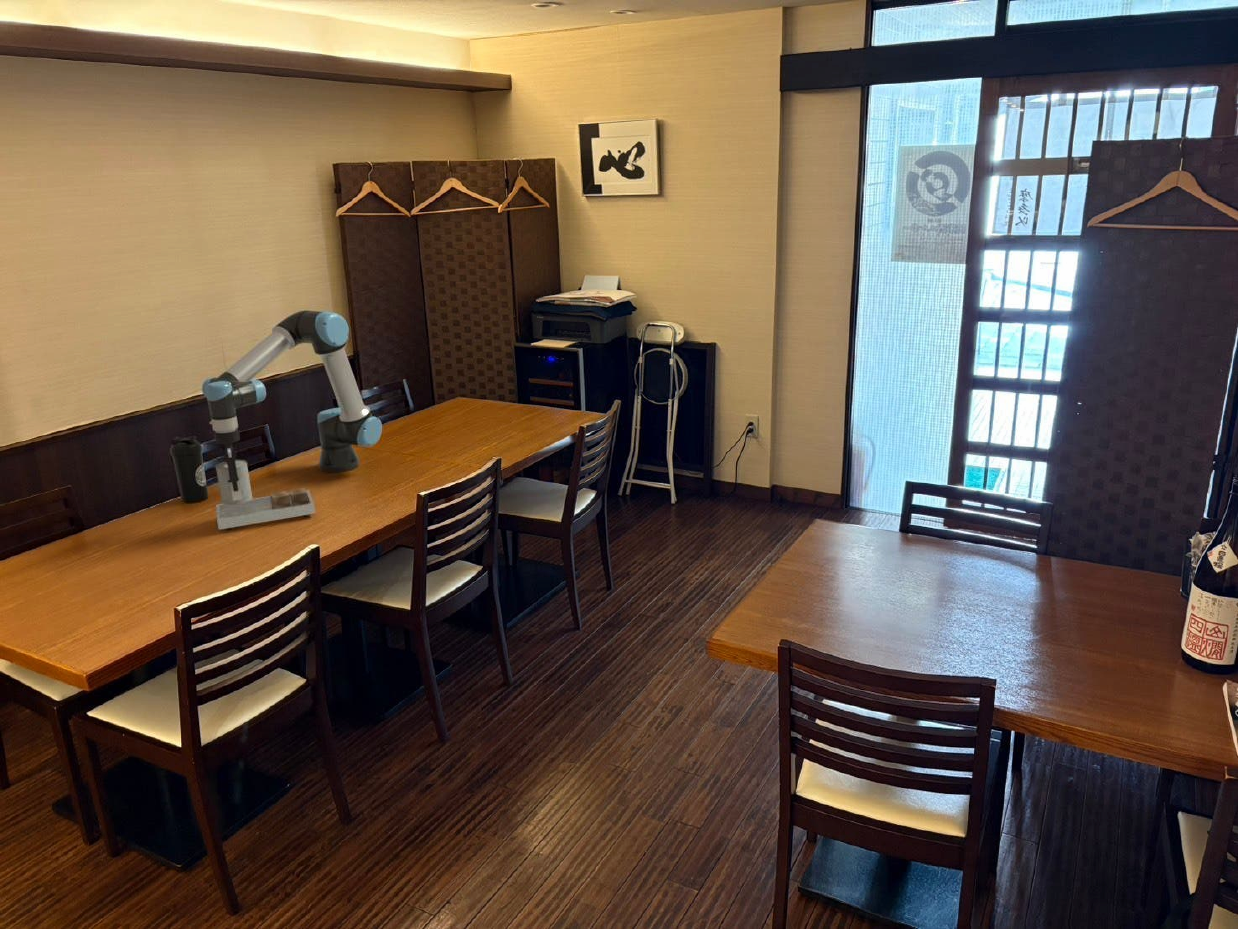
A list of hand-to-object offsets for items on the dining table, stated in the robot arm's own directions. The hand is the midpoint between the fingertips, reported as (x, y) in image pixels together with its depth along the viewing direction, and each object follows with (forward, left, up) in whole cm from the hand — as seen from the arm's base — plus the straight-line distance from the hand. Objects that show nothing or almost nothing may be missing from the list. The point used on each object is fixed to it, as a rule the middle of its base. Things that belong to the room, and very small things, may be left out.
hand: (236, 495), depth 297 cm
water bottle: (+14, -32, -10) cm, 36 cm away
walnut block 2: (-19, 0, -7) cm, 20 cm away
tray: (-8, 0, -10) cm, 13 cm away
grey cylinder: (0, 0, -2) cm, 2 cm away
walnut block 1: (-13, 0, -7) cm, 15 cm away
